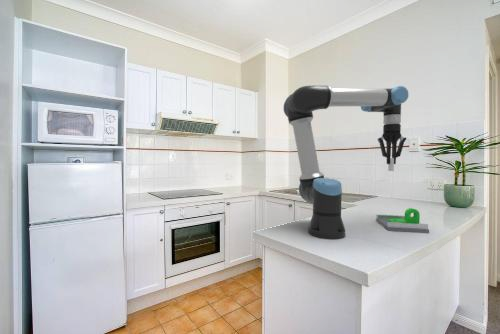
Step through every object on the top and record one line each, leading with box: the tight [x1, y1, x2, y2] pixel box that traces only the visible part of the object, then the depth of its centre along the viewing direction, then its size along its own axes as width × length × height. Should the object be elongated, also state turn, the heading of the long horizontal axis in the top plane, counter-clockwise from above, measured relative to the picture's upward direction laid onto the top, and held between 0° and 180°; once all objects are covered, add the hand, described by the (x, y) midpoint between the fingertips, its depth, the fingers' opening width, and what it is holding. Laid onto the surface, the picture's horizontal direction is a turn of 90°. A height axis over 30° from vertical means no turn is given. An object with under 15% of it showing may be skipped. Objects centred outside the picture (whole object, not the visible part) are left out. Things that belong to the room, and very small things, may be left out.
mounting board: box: [375, 218, 430, 234], centre depth 113 cm, size 16×18×2 cm
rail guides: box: [375, 214, 429, 229], centre depth 113 cm, size 16×16×2 cm
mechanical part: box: [388, 207, 421, 224], centre depth 111 cm, size 12×6×8 cm, turn 89°
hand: (390, 170), depth 120 cm, fingers closed
